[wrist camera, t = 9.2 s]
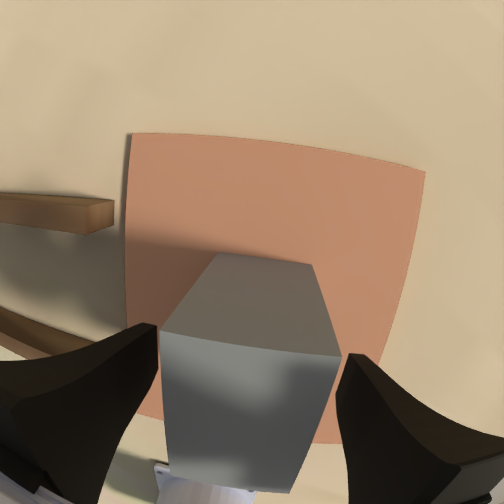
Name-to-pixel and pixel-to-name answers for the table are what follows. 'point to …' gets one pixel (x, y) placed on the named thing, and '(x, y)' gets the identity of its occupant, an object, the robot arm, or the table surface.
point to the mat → (269, 232)
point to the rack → (60, 219)
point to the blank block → (246, 373)
